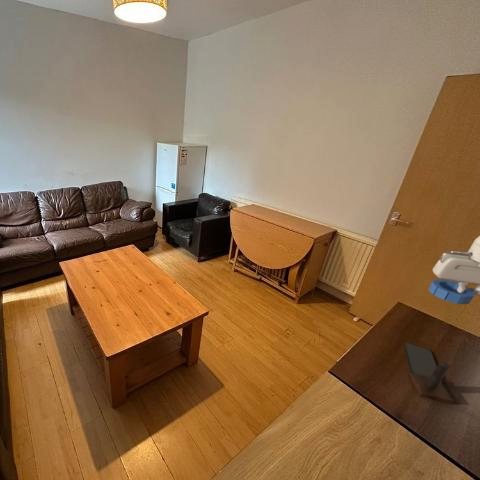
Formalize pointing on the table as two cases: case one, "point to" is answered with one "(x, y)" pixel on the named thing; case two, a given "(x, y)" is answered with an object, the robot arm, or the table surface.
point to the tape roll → (450, 291)
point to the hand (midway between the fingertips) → (467, 293)
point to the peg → (432, 384)
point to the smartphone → (420, 360)
